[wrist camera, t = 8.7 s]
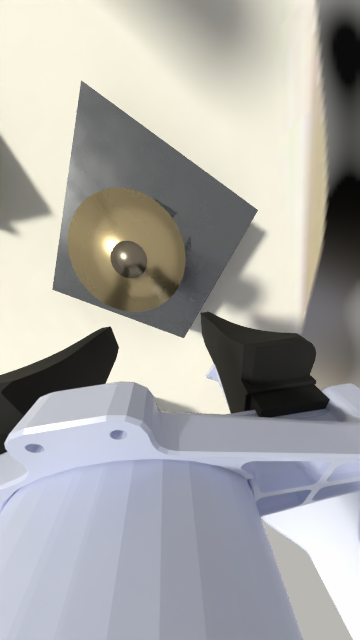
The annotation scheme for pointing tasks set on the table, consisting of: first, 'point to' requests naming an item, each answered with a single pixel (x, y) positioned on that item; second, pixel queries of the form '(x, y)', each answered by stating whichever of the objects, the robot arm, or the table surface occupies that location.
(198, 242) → the grey flat block
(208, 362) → the table surface
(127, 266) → the round door knob
